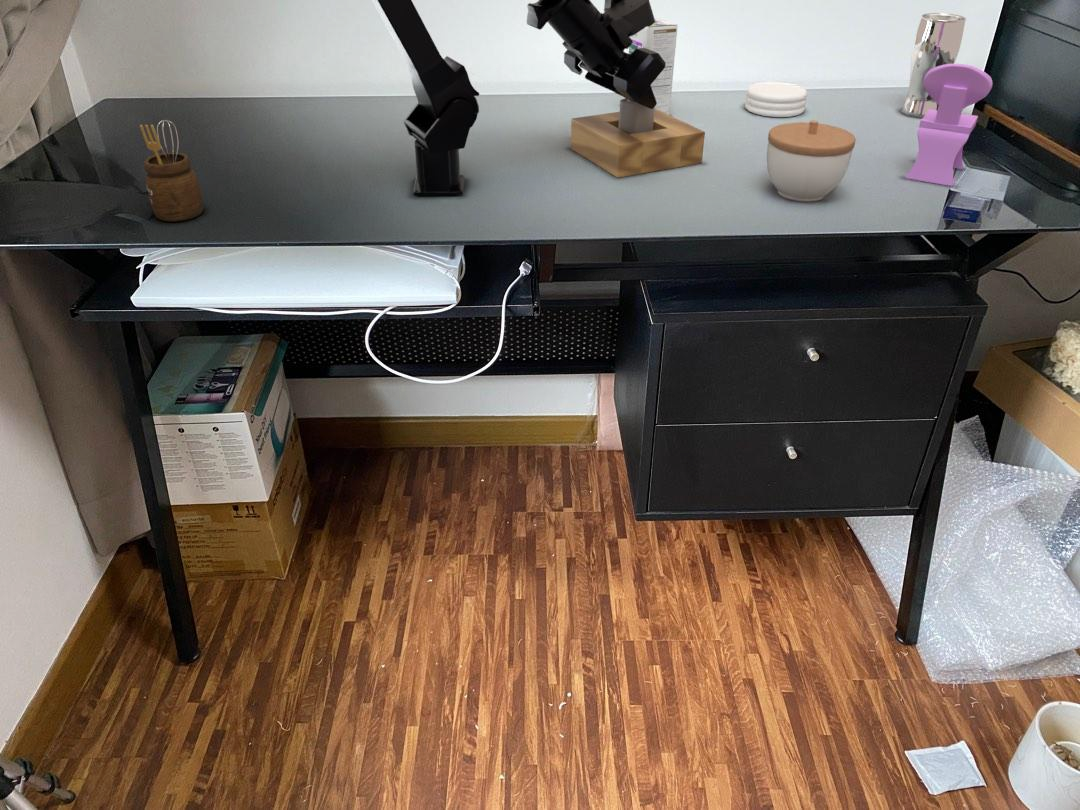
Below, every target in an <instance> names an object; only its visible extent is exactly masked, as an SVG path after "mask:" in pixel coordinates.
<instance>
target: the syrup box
mask: <svg viewBox="0 0 1080 810" xmlns="http://www.w3.org/2000/svg"><path fill="white" fill-rule="evenodd" d="M654 19H655V23H654V24H653V25H651V26H647V27H645V28H644V29H642V30H641V31H639V32H638V33H636V34H635V35H633V36H630V38H631V40H632V41H633V43H632V44H631V45H630V46H629V48H628V54H631V53H632V52H634V51H635V49H638V48H646V49H649V50H651V51H654V52H657V53H659V55H660V56H661V57H662V59H663V60H664V61H665V62H666V66H665V68H664V69H663V71H662V72H661V73H660V74H659V75H658V77H657V78H656V79H655V80H654V82H653V83H652V84H651V88H652V91H653V93H654V96H655V97H656V102H657V104H656V106H655V109H657V110H660V111H662V112H664V113H666V114H668V115H670V112H671V111H670V110H671V100H672V91H673V80H674V69H675V68H674V67H675V57H676V47H677V36H678V27H679V26H678V25H679V24H678V23H673V22H669V21H667V20H663V19H661V18H657V17H656V18H655V17H654Z"/></svg>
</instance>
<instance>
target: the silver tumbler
mask: <svg viewBox="0 0 1080 810" xmlns="http://www.w3.org/2000/svg"><path fill="white" fill-rule="evenodd" d="M966 20H967V18H966V17H965V16H962V15H959V14H953V13H946V12H945V13H944V12H930V13H923V14H921V16H920V20H919V24H918V27H917V31H916V33H915V37H914V41H913V45H912V51H911V58H910V72H909V84H908V90H907V94H906V96H905V99H904V101H903V104H902V106H901V109H900V112H901V114H903V115H906V116H908V117H912V118H919V119H922V118H923V117H924V116H925V115H926V113H927V112H928V110H929V109H930V110H938V106H939V105H938V103H937V102H936V101H935V100H934V99H932V98H931V96H930V95H929V94H928V93H927V92H926V90H925V89H924V85H923V82H924V77H925V75H926V73H927V72H928V71H929V70H931V69H933V68H935V67H937V66H941V65H945V64H956V61H957V58H958V55H959V52H960V48H961V44H962V40H963V35H964V29H965V24H966Z"/></svg>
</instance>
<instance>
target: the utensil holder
mask: <svg viewBox="0 0 1080 810" xmlns="http://www.w3.org/2000/svg"><path fill="white" fill-rule="evenodd" d="M165 122H167V124H168V126H169V132H170V136H171V143H172V145H171V146H172V152H169V151H168V147H167V142H166V137H165V132H164V123H165ZM169 122H170V123H171V124H172V125H173V126H174V129H175V133H176V138H177V139H176V140H179V135H178V131H177V127H176V126H175V124H174V123H173V122H172V121H170V120H169V119H164V120H163V119H162V120H160V121H159V122H158V123H157V126H156V129H155V126H154V125H153V124H150V127H149V125H148V124H145V125H144V126H143V124H140V125H139V128H140V131H141V133H142V137H143V139H144V143H145V145H146V148H147V149H148V150H150V151H152V152H154V154H153V155H150V156H148V157H147V158H145V160H144V162H143V165H144V171H145V172H146V177H145V186H146V189H147V193H148V198H149V201H150V205H151V208H152V211H153V214H154V216H155V218H157V219H158V220H159V221H162V222H169V223H170V222H171V223H172V222H174V223H175V222H184V221H189V220H192V219H195V218H197V217H199V216H201V215H202V213H203V211H204V202H203V198H202V194H201V189H200V184H199V180H198V177H197V174H196V172H195V171H194V170H193V169H192V168H191V167H192V163H191V160H190V158H189V156H188V155H187V154H186V153H182V152H178V151H179V143H180V142H179V141H177V148H176V151H175V146H174V139H173V138H174V137H173V133H172V128H171V125H170V123H169ZM160 123H161V130H162V136H163V140H164V142H163V143H164V146H165V149H166V152H165V151H164V150H163V147H162V145H161V141H160V137H159V136H160V135H158V134H159V125H160ZM144 127H145V129H144ZM150 128H151V130H150ZM146 133H147V134H146ZM147 135H148V136H147ZM148 138H149V139H148ZM160 150H162V152H161V153H159V151H160Z"/></svg>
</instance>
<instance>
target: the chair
mask: <svg viewBox="0 0 1080 810" xmlns="http://www.w3.org/2000/svg"><path fill="white" fill-rule="evenodd" d="M992 79H993V78H992V77H991V76H990V75H989V74H988V73H986V72H985V71H984V70H982V69H981V68H978V67H976V66H973V65H970V64H964V63H954V64H945V65H941V66H937V67H935V68H933V69H931V70H929V71H928V72H927V73H926V75H925V77H924V82H923V85H924V89H925V90H926V92H927V93H928V94H929V95H930V96H931V98H932V99H934V100H935V101H936V102H937V103H938V105H939V106H938V110H930V109H929V110H928V112H927V113H926V115H925V116H924V117H923V118H920V122H919V124H918V128H917V143H918V151H917V152H918V153H917V156H916V159H915V161H914V163H913V165H912V166H911V168H910V170H909V171H908V172H907V174H906V175H905V177H904V178H905V179H908V180H912V181H913V180H914V181H920V182H926V183H931V184H936V185H944V186H949V187H954V186H955V180H954V169H959V170H963V169H964V163H963V149H964V146H965V145H966V143H967V142H968V140H969V137H970V136H971V133H972V132H973V131H974V129H975V128H976V125H977V121H978V118H979V116H978V115H974V114H962V112H963V110H964V109H965V108H968V107H969V106H972V105H974V104H977V103H978V102H979V101H982V100H983V99H984V98H986V97H987V96H988V95H989V93H990V92H991V90H992V88H993V80H992Z"/></svg>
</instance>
